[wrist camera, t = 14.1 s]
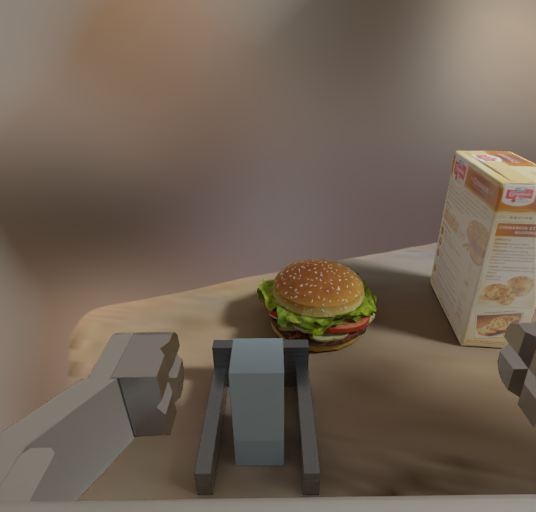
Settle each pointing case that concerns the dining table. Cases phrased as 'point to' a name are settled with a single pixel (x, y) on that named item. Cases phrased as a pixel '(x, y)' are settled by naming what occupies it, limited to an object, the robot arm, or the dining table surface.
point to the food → (318, 304)
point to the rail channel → (212, 428)
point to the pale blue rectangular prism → (257, 401)
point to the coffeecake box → (487, 246)
